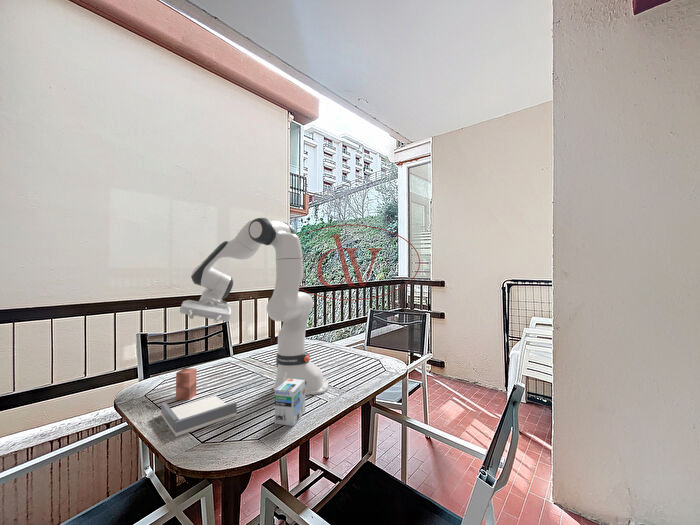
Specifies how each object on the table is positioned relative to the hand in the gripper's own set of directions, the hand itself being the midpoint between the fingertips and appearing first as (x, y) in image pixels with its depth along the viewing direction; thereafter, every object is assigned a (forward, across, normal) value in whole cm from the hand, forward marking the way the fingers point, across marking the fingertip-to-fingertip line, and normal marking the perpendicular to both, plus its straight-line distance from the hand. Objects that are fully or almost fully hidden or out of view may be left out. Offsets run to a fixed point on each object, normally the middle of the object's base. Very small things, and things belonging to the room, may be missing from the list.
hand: (203, 319), depth 124 cm
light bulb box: (+44, +35, +6) cm, 56 cm away
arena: (+33, +7, +17) cm, 38 cm away
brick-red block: (+17, +2, +24) cm, 30 cm away
